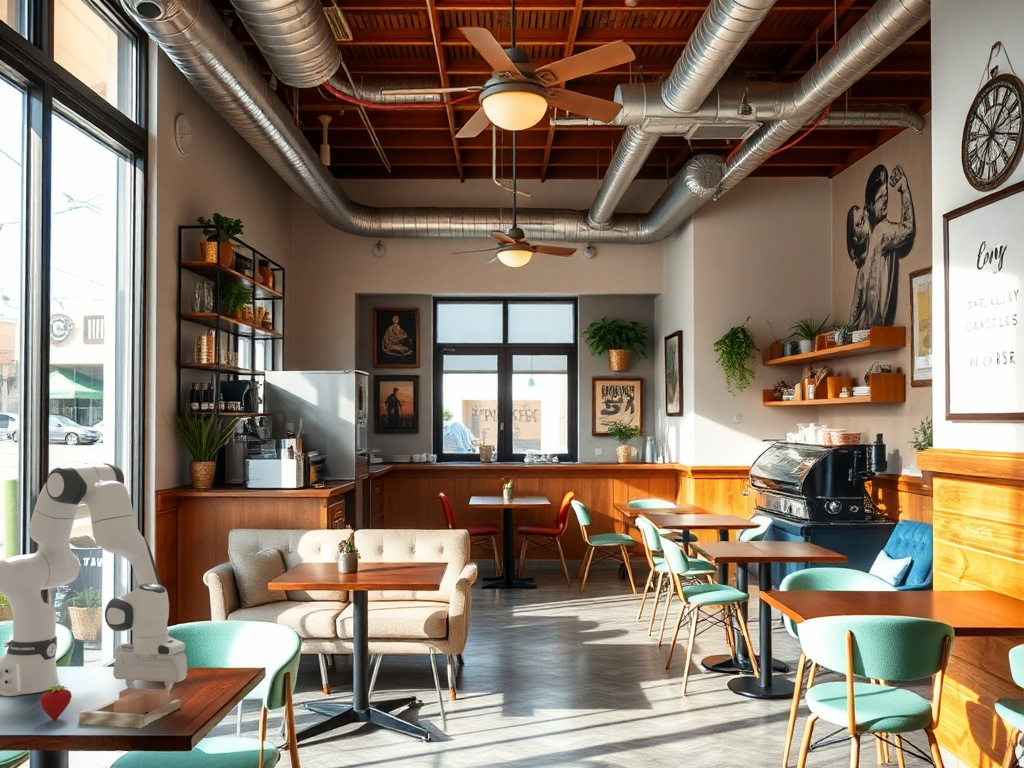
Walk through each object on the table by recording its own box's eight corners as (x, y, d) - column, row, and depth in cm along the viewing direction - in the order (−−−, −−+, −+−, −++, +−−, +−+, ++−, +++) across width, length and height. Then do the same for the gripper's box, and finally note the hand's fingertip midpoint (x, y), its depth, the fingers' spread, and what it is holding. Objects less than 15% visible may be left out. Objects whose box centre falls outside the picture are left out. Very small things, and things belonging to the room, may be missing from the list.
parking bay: (78, 724, 227) (79, 711, 228) (122, 703, 245) (122, 692, 245) (140, 728, 224) (141, 716, 224) (180, 707, 242) (180, 696, 242)
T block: (99, 720, 231) (100, 700, 231) (127, 706, 242) (128, 687, 243) (141, 722, 228) (142, 702, 229) (168, 709, 240) (168, 690, 241)
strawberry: (75, 717, 232) (77, 678, 233) (47, 725, 226) (48, 685, 227) (63, 714, 236) (64, 675, 236) (34, 721, 229) (36, 681, 230)
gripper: (109, 645, 242) (107, 698, 241) (178, 649, 238) (176, 701, 237) (123, 640, 248) (121, 691, 247) (190, 643, 245) (189, 695, 244)
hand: (149, 696), depth 242 cm, fingers open, 8 cm apart
